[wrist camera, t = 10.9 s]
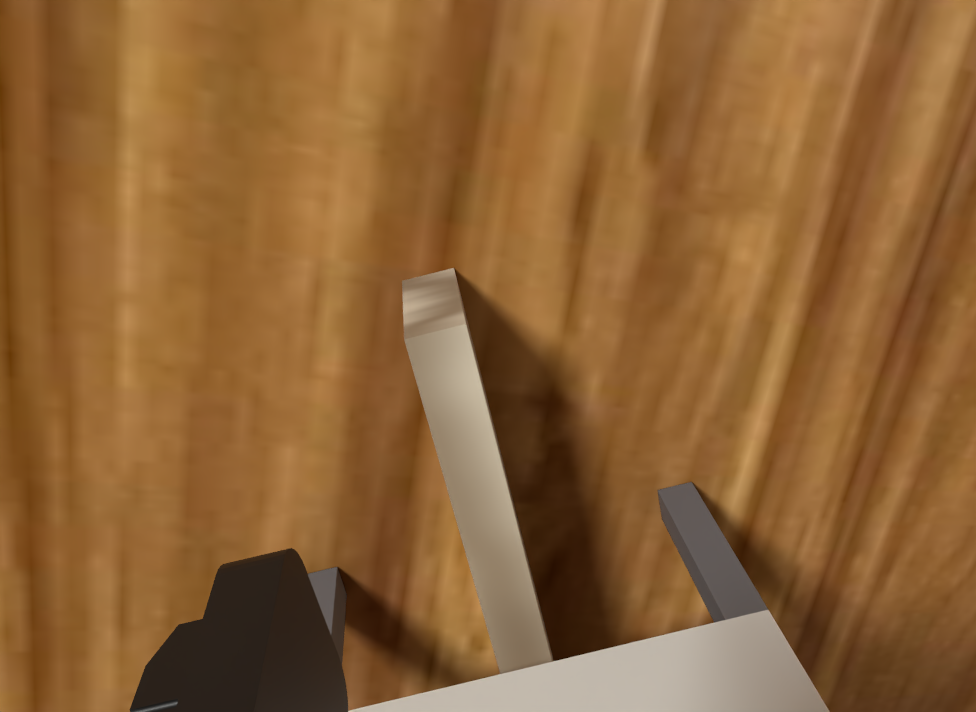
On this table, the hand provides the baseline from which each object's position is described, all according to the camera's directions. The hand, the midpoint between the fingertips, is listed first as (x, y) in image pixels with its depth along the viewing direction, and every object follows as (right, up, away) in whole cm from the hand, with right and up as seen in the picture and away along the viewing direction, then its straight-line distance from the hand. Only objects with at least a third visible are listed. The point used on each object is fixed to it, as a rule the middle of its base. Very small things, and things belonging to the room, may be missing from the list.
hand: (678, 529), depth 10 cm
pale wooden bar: (-2, -6, +29) cm, 30 cm away
